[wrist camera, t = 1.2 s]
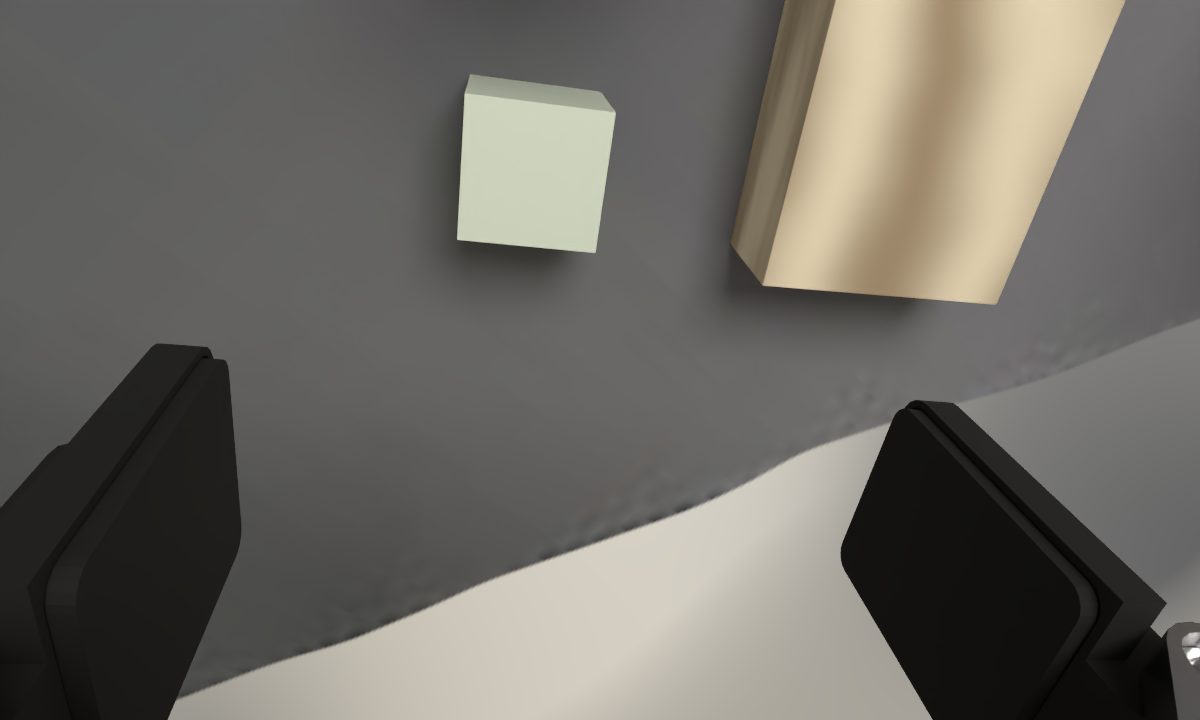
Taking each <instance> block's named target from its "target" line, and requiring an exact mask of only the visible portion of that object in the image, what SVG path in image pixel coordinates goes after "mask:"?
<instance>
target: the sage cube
mask: <svg viewBox="0 0 1200 720" xmlns="http://www.w3.org/2000/svg"><path fill="white" fill-rule="evenodd" d="M615 115H616V112H615V111H614V109H613V108H612V107H611V105H610V104H609V102H608V101H607V100H606V98H605V97H604V96H603V94H602V93H601V92H599V91H591V90H584V89H576V88H569V87H561V86H554V85H546V84H539V83H531V82H524V81H516V80H509V79H501V78H494V77H486V76H479V75H471V74H470V77H469V80H468V84H467V87H466V91H465V99H464V118H463V137H462V156H461V175H460V194H459V214H458V233H457V240H464V241H475V242H485V243H496V244H506V245H517V246H527V247H538V248H548V249H559V250H569V251H580V252H590V253H595V252H596V245H597V238H598V231H599V224H600V218H601V211H602V204H603V197H604V190H605V183H606V177H607V170H608V163H609V156H610V149H611V142H612V135H613V129H614V122H615Z"/></svg>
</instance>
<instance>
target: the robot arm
mask: <svg viewBox="0 0 1200 720" xmlns="http://www.w3.org/2000/svg"><path fill="white" fill-rule="evenodd" d="M240 538H241V516H240V503H239V491H238V479H237V466H236V454H235V442H234V430H233V417H232V405H231V393H230V380H229V370H228V365H227V362H226V361H225V360H221V359H213V356H212V353H211V350H210V349H209V348H208V347H200V346H186V345H173V344H155V345H154V346H152V347H151V348H150V350H149V351H148V352H147V353H146V354H145V355H144V357H143V358H142V359H141V360H140V361H139V362H138V363H137V365H136V366H135V367H134V368H133V369H132V370H131V371H130V373H129V374H128V375H127V376H126V377H125V378H124V380H123V381H122V382H121V383H120V384H119V385H118V386H117V388H116V389H115V390H114V391H113V392H112V393H111V395H110V396H109V397H108V398H107V399H106V400H105V401H104V403H103V404H102V405H101V406H100V407H99V408H98V410H97V411H96V412H95V413H94V414H93V415H92V416H91V418H90V419H89V420H88V421H87V422H86V423H85V425H84V426H83V427H82V428H81V429H80V430H79V431H78V433H77V434H76V435H75V436H74V437H73V438H72V440H71V441H70V442H69V443H68V444H64V445H61V446H58V447H56V448H55V449H54V450H53V451H52V452H50V453H49V454H48V455H47V456H46V457H45V458H44V460H43V461H42V462H41V463H40V464H39V465H38V466H37V467H36V469H35V470H34V471H33V472H32V473H31V474H30V475H29V476H28V478H27V479H26V480H25V481H24V482H23V483H22V484H21V485H20V487H19V488H18V489H17V490H16V491H15V492H14V493H13V494H12V496H11V497H10V498H9V499H8V500H7V501H6V502H5V503H4V505H3V506H2V507H1V508H0V720H168V717H169V715H170V712H171V710H172V708H173V705H174V703H175V701H176V698H177V696H178V693H179V691H180V689H181V686H182V684H183V681H184V679H185V677H186V674H187V672H188V670H189V667H190V665H191V662H192V660H193V658H194V655H195V653H196V651H197V648H198V646H199V643H200V641H201V639H202V636H203V634H204V631H205V629H206V627H207V624H208V622H209V620H210V617H211V615H212V612H213V610H214V608H215V605H216V603H217V601H218V598H219V596H220V593H221V591H222V589H223V586H224V584H225V581H226V579H227V577H228V574H229V572H230V570H231V567H232V565H233V562H234V560H235V558H236V555H237V552H238V549H239V544H240ZM841 562H842V566H843V568H844V570H845V572H846V574H847V575H848V577H849V578H850V580H851V582H852V584H853V585H854V587H855V589H856V590H857V592H858V594H859V595H860V597H861V599H862V601H863V602H864V604H865V606H866V607H867V609H868V611H869V612H870V614H871V616H872V618H873V619H874V621H875V623H876V624H877V626H878V628H879V629H880V631H881V633H882V635H883V636H884V638H885V640H886V641H887V643H888V644H889V646H890V648H891V650H892V651H893V653H894V655H895V657H896V658H897V660H898V662H899V663H900V665H901V667H902V668H903V670H904V672H905V674H906V675H907V677H908V678H909V680H910V682H911V684H912V685H913V687H914V689H915V690H916V692H917V694H918V695H919V697H920V699H921V701H922V702H923V704H924V706H925V707H926V709H927V711H928V712H929V714H930V716H931V718H932V719H933V720H1200V624H1199V623H1194V622H1184V623H1176V624H1175V625H1173V626H1172V627H1170V628H1169V629H1168V630H1167V631H1166V633H1165V634H1164V635H1163V637H1162V638H1161V637H1160V636H1158V634H1157V633H1156V632H1155V631H1154V630H1153V629H1152V628H1151V627H1150V626H1151V625H1152V623H1153V622H1154V620H1155V619H1156V618H1157V616H1158V615H1159V613H1160V612H1161V611H1162V609H1163V608H1164V606H1165V605H1166V604H1167V603H1166V602H1165V601H1164V600H1163V599H1162V598H1161V597H1160V596H1159V595H1158V594H1157V593H1155V591H1154V590H1152V589H1151V588H1150V587H1149V586H1148V585H1147V584H1146V583H1145V582H1144V581H1143V580H1142V579H1141V578H1139V576H1138V575H1136V574H1135V573H1134V572H1133V571H1132V570H1131V569H1130V568H1129V567H1128V566H1127V565H1126V564H1125V563H1124V562H1123V561H1122V560H1120V558H1118V557H1117V556H1116V555H1115V554H1114V553H1113V552H1112V551H1111V550H1110V549H1109V548H1108V547H1107V546H1106V545H1105V544H1104V543H1102V542H1101V541H1100V540H1099V539H1098V538H1097V537H1096V536H1095V535H1094V534H1093V533H1092V532H1091V531H1090V530H1089V529H1088V528H1086V527H1085V526H1084V525H1083V524H1082V523H1081V522H1080V521H1079V520H1078V519H1077V518H1076V517H1075V516H1074V515H1073V514H1072V513H1071V512H1070V511H1069V510H1067V509H1066V508H1065V507H1064V506H1063V505H1062V504H1061V503H1060V502H1059V501H1058V500H1057V499H1056V498H1055V497H1054V496H1052V495H1051V494H1050V493H1049V492H1048V491H1047V490H1046V489H1045V488H1044V487H1043V486H1042V485H1041V484H1040V483H1039V482H1038V481H1037V480H1036V479H1034V478H1033V477H1032V476H1031V475H1030V474H1029V473H1028V472H1027V471H1026V470H1025V469H1024V468H1023V467H1022V466H1021V465H1020V464H1018V463H1017V462H1016V461H1015V460H1014V459H1013V458H1012V457H1011V456H1010V455H1009V454H1008V453H1007V452H1006V451H1005V450H1004V449H1003V448H1002V447H1000V446H999V445H998V444H997V443H996V442H995V441H994V440H993V439H992V438H991V437H990V436H989V435H988V434H987V433H986V432H985V431H983V430H982V429H981V428H980V427H979V426H978V425H977V424H976V423H975V422H974V421H973V420H972V419H971V418H969V416H968V415H966V414H965V413H964V412H963V411H962V410H961V409H960V408H959V407H958V406H956V405H955V404H953V403H947V402H935V401H921V400H915V401H912V402H910V403H909V404H908V405H907V406H906V407H905V409H901V410H899V411H898V412H897V413H896V414H895V416H894V418H893V420H892V423H891V425H890V427H889V430H888V432H887V435H886V437H885V440H884V442H883V445H882V447H881V450H880V452H879V455H878V457H877V460H876V462H875V464H874V467H873V469H872V472H871V474H870V477H869V479H868V482H867V484H866V486H865V489H864V491H863V494H862V496H861V499H860V501H859V504H858V506H857V508H856V511H855V513H854V516H853V518H852V521H851V523H850V526H849V528H848V530H847V533H846V535H845V538H844V540H843V543H842V546H841Z"/></svg>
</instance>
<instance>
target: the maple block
mask: <svg viewBox="0 0 1200 720" xmlns="http://www.w3.org/2000/svg"><path fill="white" fill-rule="evenodd" d="M1124 3H1125V0H785V3H784V8H783V12H782V16H781V21H780V25H779V30H778V34H777V39H776V43H775V47H774V52H773V56H772V61H771V65H770V69H769V74H768V78H767V83H766V87H765V92H764V96H763V100H762V105H761V109H760V114H759V118H758V123H757V127H756V131H755V136H754V140H753V145H752V149H751V154H750V158H749V162H748V167H747V171H746V176H745V180H744V185H743V189H742V193H741V198H740V202H739V207H738V211H737V215H736V220H735V224H734V229H733V233H732V238H731V242H730V244H731V246H732V247H733V248H734V249H735V251H736V252H737V253H738V255H739V256H740V257H741V258H742V260H743V261H744V262H745V264H746V265H747V266H748V267H749V269H750V270H751V271H752V273H753V274H754V275H755V276H756V278H757V279H758V280H759V281H760V283H761V284H762V285H763V286H774V287H786V288H798V289H811V290H823V291H835V292H847V293H860V294H872V295H884V296H897V297H909V298H921V299H934V300H946V301H958V302H971V303H983V304H995V305H996V304H997V302H998V299H999V297H1000V295H1001V292H1002V290H1003V287H1004V285H1005V283H1006V280H1007V278H1008V276H1009V273H1010V271H1011V269H1012V266H1013V264H1014V262H1015V259H1016V257H1017V255H1018V252H1019V250H1020V247H1021V245H1022V243H1023V240H1024V238H1025V236H1026V233H1027V231H1028V229H1029V226H1030V224H1031V222H1032V219H1033V217H1034V214H1035V212H1036V210H1037V207H1038V205H1039V203H1040V200H1041V198H1042V196H1043V193H1044V191H1045V189H1046V186H1047V184H1048V182H1049V179H1050V177H1051V174H1052V172H1053V170H1054V167H1055V165H1056V163H1057V160H1058V158H1059V156H1060V153H1061V151H1062V149H1063V146H1064V144H1065V141H1066V139H1067V137H1068V134H1069V132H1070V130H1071V127H1072V125H1073V123H1074V120H1075V118H1076V116H1077V113H1078V111H1079V109H1080V106H1081V104H1082V101H1083V99H1084V97H1085V94H1086V92H1087V90H1088V87H1089V85H1090V83H1091V80H1092V78H1093V76H1094V73H1095V71H1096V68H1097V66H1098V64H1099V61H1100V59H1101V57H1102V54H1103V52H1104V50H1105V47H1106V45H1107V43H1108V40H1109V38H1110V36H1111V33H1112V31H1113V28H1114V26H1115V24H1116V21H1117V19H1118V17H1119V14H1120V12H1121V10H1122V7H1123V5H1124Z"/></svg>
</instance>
